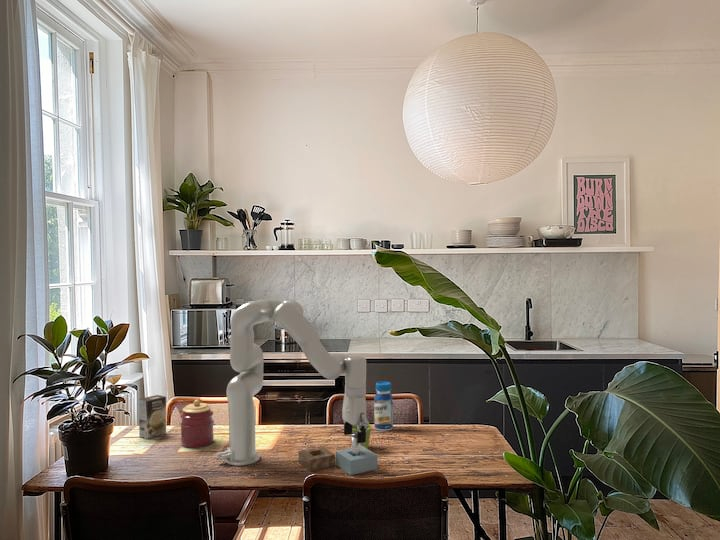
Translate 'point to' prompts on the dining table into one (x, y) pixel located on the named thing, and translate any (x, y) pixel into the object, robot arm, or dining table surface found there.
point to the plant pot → (366, 444)
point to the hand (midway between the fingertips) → (354, 438)
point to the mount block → (316, 458)
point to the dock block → (356, 461)
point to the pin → (355, 445)
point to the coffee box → (152, 416)
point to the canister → (197, 425)
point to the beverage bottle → (383, 407)
